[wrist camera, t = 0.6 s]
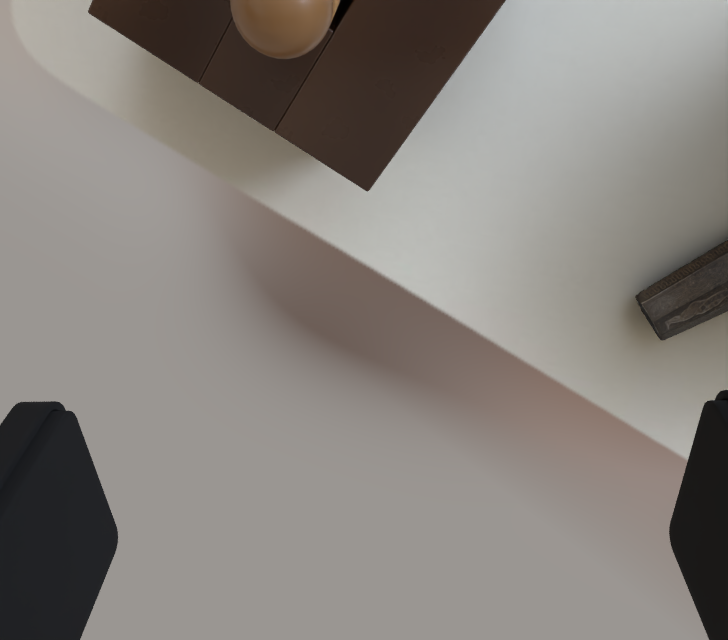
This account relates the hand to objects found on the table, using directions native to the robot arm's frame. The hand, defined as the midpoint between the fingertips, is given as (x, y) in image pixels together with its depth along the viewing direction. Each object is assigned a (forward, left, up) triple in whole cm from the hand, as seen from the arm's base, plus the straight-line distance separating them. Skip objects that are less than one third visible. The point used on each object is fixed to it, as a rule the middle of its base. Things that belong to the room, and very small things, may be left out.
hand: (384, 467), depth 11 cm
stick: (-6, -1, -22) cm, 23 cm away
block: (+13, +12, -22) cm, 28 cm away
